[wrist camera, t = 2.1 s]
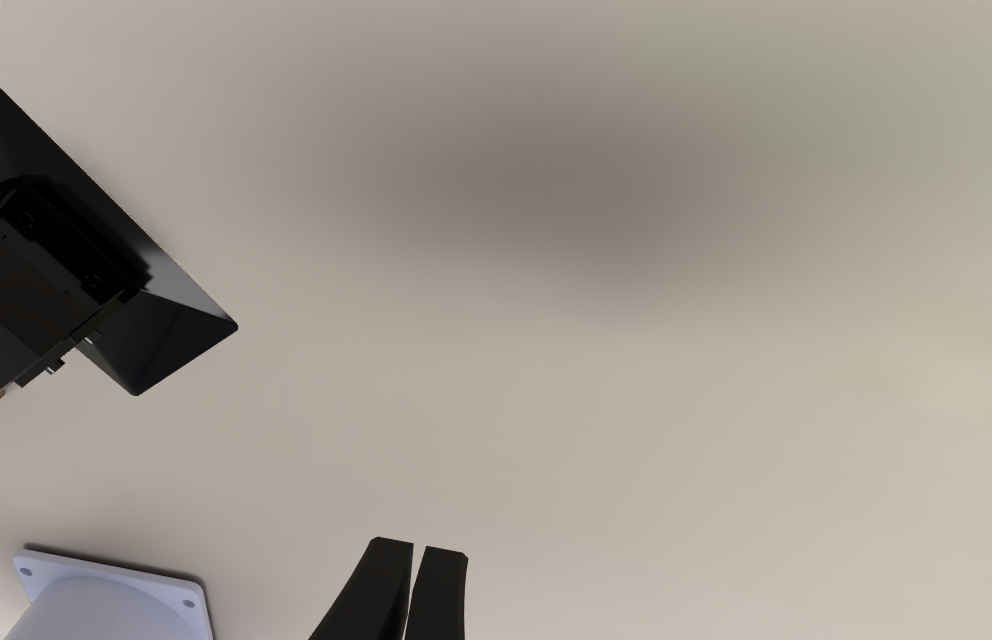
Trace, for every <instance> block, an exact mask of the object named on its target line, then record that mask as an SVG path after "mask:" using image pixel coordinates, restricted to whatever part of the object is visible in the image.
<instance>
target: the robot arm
mask: <svg viewBox="0 0 992 640" xmlns="http://www.w3.org/2000/svg"><path fill="white" fill-rule="evenodd" d="M413 546H414V543H409V542H404V541H398V540H393V539H388V538H383V537H376V538H374V539H372V540H371V541H370V543H369V545H368V547H367V549H366V551H365V553H364V554H363V556H362V558H361V560H360V561H359V563H358V565H357V567H356V568H355V570H354V572H353V573H352V575H351V577H350V578H349V580H348V582H347V583H346V585H345V586H344V588H343V590H342V591H341V593H340V594H339V596H338V597H337V599H336V600H335V602H334V603H333V605H332V606H331V608H330V609H329V611H328V612H327V614H326V615H325V617H324V618H323V619H322V621H321V622H320V624H319V625H318V626H317V628H316V629H315V631H314V632H313V633H312V635H311V636H310V638H309V639H308V640H402V637H403V633H404V629H405V624H406V620H407V616H408V621H407V627H406V633H405V639H404V640H465V632H464V596H465V580H466V570H467V564H468V558H467V557H466V556H465V555H464V554H463V553H462V552H456V551H451V550H446V549H441V548H435V547H430V546H426V549H425V552H424V555H423V558H422V562H421V565H420V568H419V571H418V575H417V578H416V582H415V585H414V588H413V592H412V598H411V604H410V610H409V615H408V605H409V593H410V581H411V569H412V558H413ZM12 563H13V565H14V567H15V569H16V571H17V574H18V576H19V578H20V580H21V582H22V584H23V587H24V589H25V591H26V593H27V595H28V597H29V600H30V602H31V605H30V607H29V608H28V609H27V610H26V612H25V613H24V614H23V615H22V617H21V618H20V619H19V620H18V622H17V623H16V624H15V625H14V626H13V628H12V629H11V630H10V631H9V633H8V634H7V635H6V636H5V638H4V639H3V640H213V637H212V632H211V627H210V622H209V617H208V613H207V608H206V603H205V598H204V593H203V590H202V588H201V587H200V586H199V585H198V584H196V583H194V582H191V581H187V580H181V579H176V578H171V577H166V576H161V575H156V574H151V573H145V572H140V571H135V570H130V569H125V568H120V567H115V566H109V565H104V564H99V563H94V562H89V561H84V560H79V559H73V558H68V557H63V556H58V555H53V554H48V553H43V552H37V551H32V550H27V549H21V550H18V551H17V553H16V554H15V555H14V556H13V557H12Z"/></svg>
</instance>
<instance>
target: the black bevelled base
mask: <svg viewBox="0 0 992 640" xmlns="http://www.w3.org/2000/svg"><path fill="white" fill-rule="evenodd" d="M237 330H238V325H237V323H236V322H235V321H234V320H233V319H232V318H231V317H230V316H229V315H228V314H227V313H226V312H225V311H224V310H223V309H222V308H221V307H220V306H219V305H218V304H217V303H216V302H215V301H214V300H213V299H212V298H211V297H210V296H209V295H208V294H207V293H206V292H205V291H204V290H203V289H202V288H201V287H200V286H199V285H198V284H197V283H196V282H195V281H194V280H193V279H192V278H191V277H190V276H189V275H188V274H187V273H186V272H185V271H184V270H183V269H182V268H181V267H179V266H178V265H177V264H176V263H175V262H174V261H173V260H172V259H171V258H170V257H169V256H168V255H167V254H166V253H165V252H164V251H163V250H162V249H161V248H160V247H159V246H158V245H157V244H156V243H155V242H154V241H153V240H152V239H151V238H150V237H149V236H148V235H147V234H146V233H145V232H144V231H143V230H142V229H141V228H140V227H139V226H138V225H137V224H136V223H135V222H134V221H133V220H132V219H131V218H130V217H129V216H128V215H127V214H126V213H125V212H124V211H123V210H122V209H121V208H120V207H119V206H118V205H117V204H116V203H115V202H114V201H113V200H112V199H111V198H110V197H109V196H108V195H107V194H106V193H105V192H104V191H103V190H102V189H101V188H100V187H99V186H98V185H97V184H96V183H95V182H94V181H93V180H92V179H91V178H90V177H89V176H88V175H87V174H86V173H85V172H84V171H83V170H82V169H81V168H80V167H79V166H78V165H77V164H76V163H75V162H74V161H73V160H72V159H71V158H70V157H69V156H68V155H67V154H66V153H65V152H64V151H63V150H62V149H61V148H60V147H59V146H58V145H57V144H56V143H55V142H54V141H53V140H52V139H51V138H50V137H49V136H48V135H47V134H46V133H45V132H44V131H43V130H42V129H41V128H40V127H39V126H38V125H37V124H36V123H35V122H34V121H33V120H32V119H31V118H30V117H29V116H28V115H27V114H26V113H25V112H24V111H23V110H22V109H21V108H20V107H19V106H18V105H17V104H16V103H15V102H14V101H13V100H12V99H11V98H10V97H9V96H8V95H7V94H6V93H5V92H4V91H3V90H2V89H1V88H0V392H1V391H2V390H4V389H5V388H6V387H7V386H9V385H10V384H11V383H12V382H15V383H16V384H17V385H19V386H20V387H21V388H23V387H24V386H25V385H26V384H28V383H29V382H30V381H31V380H33V379H34V378H35V377H37V376H38V375H39V374H40V373H42V372H43V371H44V370H45V371H47V372H48V373H49V374H50V375H52V374H53V373H54V372H56V371H57V370H58V369H59V368H60V367H62V366H63V365H64V364H65V362H64V361H63V360H61V359H60V358H61V357H62V356H63V355H65V354H66V353H67V352H69V351H70V350H71V349H72V348H74V347H75V348H77V349H78V350H79V351H80V352H81V353H83V354H84V355H85V356H86V357H87V358H88V359H90V360H91V361H92V362H93V363H94V364H96V365H97V366H98V367H99V368H100V369H101V370H103V371H104V372H105V373H106V374H107V375H109V376H110V377H111V378H112V379H113V380H115V381H116V382H117V383H118V384H119V385H120V386H122V387H123V388H124V389H125V390H126V391H128V392H129V393H130V394H131V395H133V396H139V395H140V394H142V393H143V392H145V391H146V390H148V389H149V388H151V387H152V386H154V385H155V384H157V383H158V382H160V381H161V380H163V379H164V378H166V377H167V376H169V375H170V374H172V373H174V372H175V371H177V370H178V369H180V368H181V367H183V366H184V365H186V364H187V363H189V362H190V361H192V360H193V359H195V358H196V357H198V356H199V355H201V354H202V353H204V352H205V351H207V350H208V349H210V348H211V347H213V346H214V345H216V344H217V343H219V342H221V341H222V340H224V339H225V338H227V337H228V336H230V335H231V334H233V333H234V332H236V331H237Z"/></svg>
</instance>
